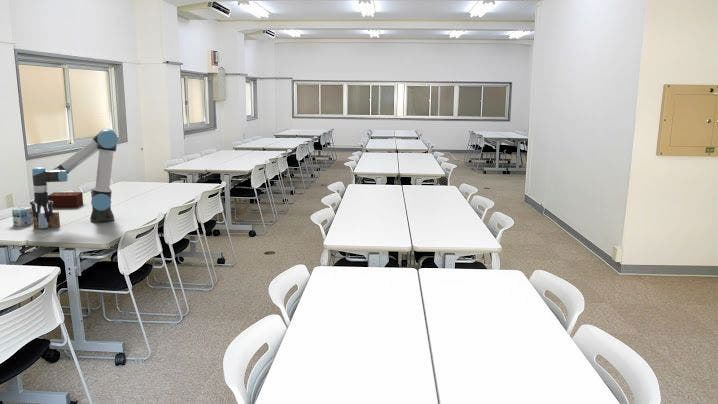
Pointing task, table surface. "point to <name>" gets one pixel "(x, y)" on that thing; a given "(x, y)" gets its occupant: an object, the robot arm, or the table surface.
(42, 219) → the blue-grey rectangular slab
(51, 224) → the brown wooden u-shaped block
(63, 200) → the box
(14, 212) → the light bulb box
